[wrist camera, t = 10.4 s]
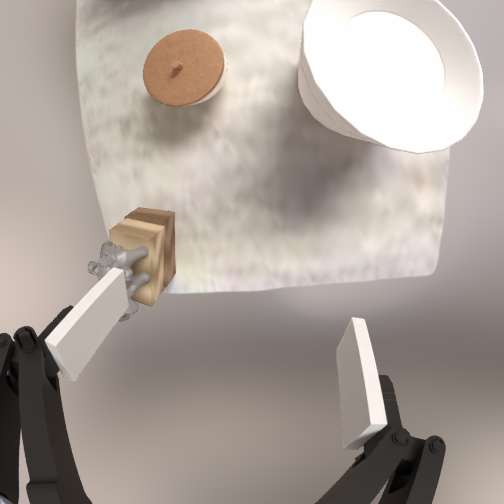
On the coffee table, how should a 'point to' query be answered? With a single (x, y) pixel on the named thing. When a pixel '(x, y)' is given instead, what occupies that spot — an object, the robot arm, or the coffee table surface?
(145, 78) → the lidded jar
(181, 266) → the coffee table surface
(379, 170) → the coffee table surface
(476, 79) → the canister
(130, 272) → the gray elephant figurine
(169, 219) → the tower base
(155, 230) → the light wooden block
